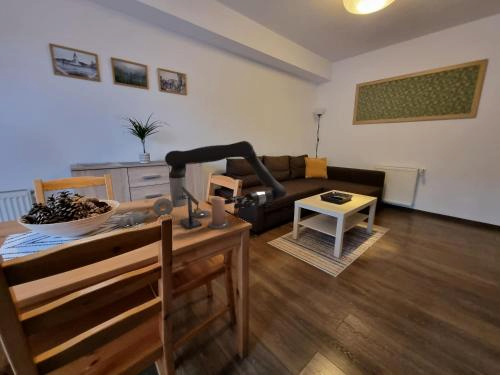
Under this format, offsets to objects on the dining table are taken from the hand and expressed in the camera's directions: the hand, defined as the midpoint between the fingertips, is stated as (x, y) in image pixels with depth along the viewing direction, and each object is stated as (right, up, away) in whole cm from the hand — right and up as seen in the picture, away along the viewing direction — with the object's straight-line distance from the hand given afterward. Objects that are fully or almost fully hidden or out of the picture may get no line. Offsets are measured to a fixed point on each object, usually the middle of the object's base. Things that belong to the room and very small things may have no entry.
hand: (229, 204), depth 100 cm
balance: (-18, -10, -1) cm, 21 cm away
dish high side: (-16, -7, +12) cm, 21 cm away
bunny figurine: (-46, -9, +1) cm, 47 cm away
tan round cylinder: (-5, -9, -2) cm, 10 cm away
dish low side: (-5, -10, -1) cm, 11 cm away
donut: (-36, -7, +10) cm, 38 cm away
